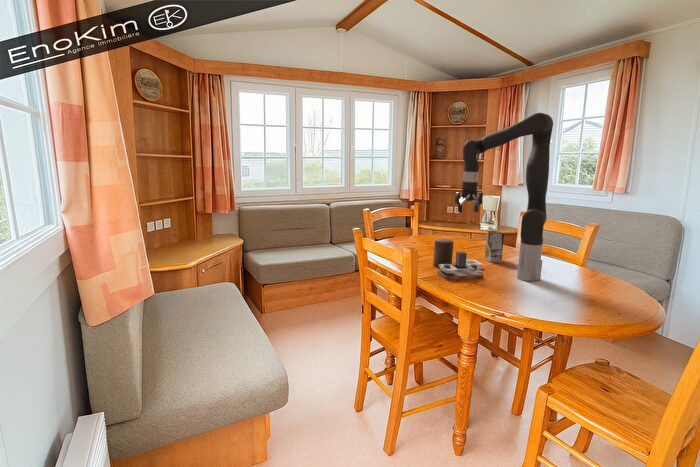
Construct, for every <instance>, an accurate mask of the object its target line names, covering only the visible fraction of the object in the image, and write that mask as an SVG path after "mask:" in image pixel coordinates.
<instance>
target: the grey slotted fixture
mask: <svg viewBox="0 0 700 467" xmlns="http://www.w3.org/2000/svg"><path fill="white" fill-rule="evenodd" d="M437 268H439V269H438V270H436V273H437V274H438V275H439V276H440V277H441V278H443V279H444V280H445V281H447V280H448V281H449V280H465V279H466V280H467V279H471V280H472V279H483V278H484V273H483V271H482V270H481V269H477V265H476V264H471V266H469V265H467V264H466V268H461V269H457V268H456V267H455V263H452V264H439V266H438V267H437Z"/></svg>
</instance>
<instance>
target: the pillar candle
mask: <svg viewBox="0 0 700 467" xmlns="http://www.w3.org/2000/svg"><path fill="white" fill-rule="evenodd" d="M454 243H455V242H454V240H453V239H451V238H450V239H449V238H435V239H434V246H433V247H434V248H433V260H432V261H433V262H432V264H433V266H434V267H436V268H439V267H438V266H439V264H453V254H454Z"/></svg>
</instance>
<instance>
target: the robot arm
mask: <svg viewBox="0 0 700 467" xmlns="http://www.w3.org/2000/svg"><path fill="white" fill-rule="evenodd" d="M553 127H554V121H553V118H552V116H551V115H549V114H547V113H543V112H536V113H533V114H532V115H530V116H528V117H526V118H524V119H523V120H521V121H519V122H517V123H514V124H512V125H510V126H508V127H504V128H502V129H499V130H497V131H494V132H491V133H488V134H485V135H484V136H483V137H482V138H479V139H476V140H474V139H473V140H472V139H469V140H467V141H465V143H464V145H463V149H462V155H463V161H464V166H463V173H462V174H463V175H462V186H461V192H458V191H457V192H455V196H454V204H455V205H457V212H458V213H460V214H461V213H462V212H463V204H464V203H465V202H469V201H471V202H473V204H474V205H473V213H475V214H477V213H478V212H479V206H480V205H482V204H483V201H484V198H483V195H484V193H483V192H481V191H478V188H479V187H478V185H479V171H480V170H479V169H480V168H479V167H480V162H479V160H477V155H480V154H483V153H485V152H486V151H489V150H493V149H495V148H497V147H502V146H503V145H505V144H508V143H509V142H512V141H514V140H515V139H518V138H521V137H525V136H531V135H532V137H531V138H532V144H531V150H530V153H529V156H528V159H527V162H526V169H525V170H526V171H525V184H526V191H527V198H528V201H527V207H526V208H527V209H526V211H525V212H524V213H523V215H522V218H521V222H520V223H521V225H520V233H519V234H520V246H519V255H518V264H517V272H516V273H517V274H516V277H517V278H516V279H519V280H521V281H524V282H525V281H526V282H537V281H539V280H540V281H541V277H542V269H543V260H542V254H543V253H542V251H543V243H544V237H543V236H544V234H543V233H544V226H545V224H546V222H547V217H548V216H547V204H546V200H547V191H548V184H549V177H550V145H551V137H552V134H553V133H552V132H553Z"/></svg>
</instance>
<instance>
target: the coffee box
mask: <svg viewBox="0 0 700 467" xmlns="http://www.w3.org/2000/svg"><path fill="white" fill-rule="evenodd" d="M504 238H505V233H504V232H502V231H499V230H487V231H486V242H485V256H484V258H485V260H487V261H488V262H489V263H502V259H503V249H504V241H505V240H504Z"/></svg>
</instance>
